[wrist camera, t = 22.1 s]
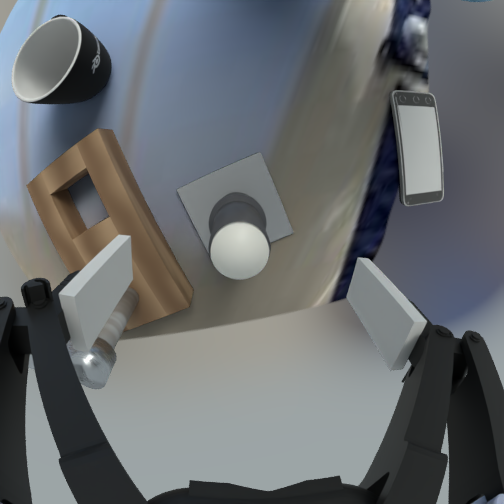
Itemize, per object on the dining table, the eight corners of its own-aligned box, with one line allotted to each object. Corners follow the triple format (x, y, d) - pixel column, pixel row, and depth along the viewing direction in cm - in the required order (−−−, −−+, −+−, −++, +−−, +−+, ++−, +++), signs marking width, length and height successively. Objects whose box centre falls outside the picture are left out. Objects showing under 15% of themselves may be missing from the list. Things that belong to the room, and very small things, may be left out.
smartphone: (434, 93, 26) (443, 200, 32) (429, 94, 27) (439, 199, 33) (391, 89, 26) (403, 207, 32) (387, 91, 27) (399, 205, 33)
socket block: (112, 129, 27) (42, 125, 14) (193, 290, 35) (176, 365, 22) (44, 180, 28) (-29, 204, 15) (121, 319, 36) (85, 388, 23)
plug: (247, 178, 30) (258, 200, 18) (268, 221, 32) (291, 268, 20) (203, 201, 31) (185, 236, 19) (226, 242, 32) (223, 299, 20)
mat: (260, 151, 29) (260, 151, 29) (293, 231, 33) (293, 232, 33) (177, 189, 30) (176, 189, 30) (215, 264, 34) (214, 266, 33)
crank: (110, 337, 20) (93, 371, 16) (120, 368, 22) (107, 402, 18) (-16, 316, 19) (-35, 336, 15) (-4, 342, 20) (-22, 363, 17)
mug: (127, 90, 26) (86, 72, 16) (66, 121, 26) (14, 119, 16) (113, 14, 21) (78, -18, 12) (55, 46, 22) (10, 28, 12)
